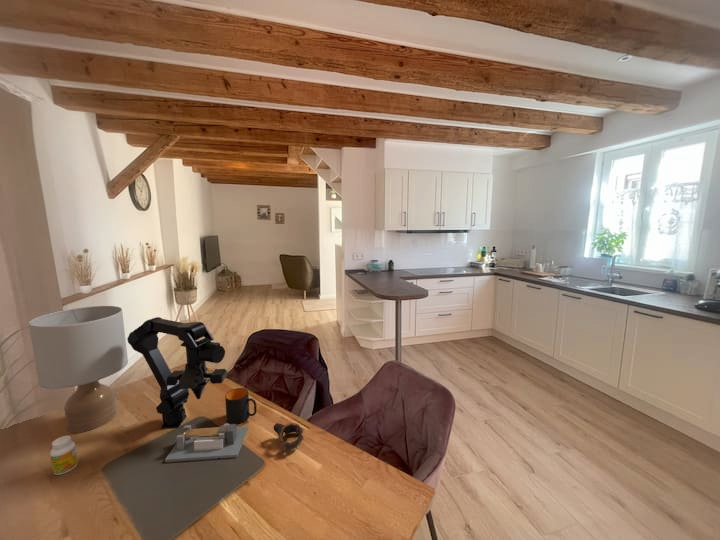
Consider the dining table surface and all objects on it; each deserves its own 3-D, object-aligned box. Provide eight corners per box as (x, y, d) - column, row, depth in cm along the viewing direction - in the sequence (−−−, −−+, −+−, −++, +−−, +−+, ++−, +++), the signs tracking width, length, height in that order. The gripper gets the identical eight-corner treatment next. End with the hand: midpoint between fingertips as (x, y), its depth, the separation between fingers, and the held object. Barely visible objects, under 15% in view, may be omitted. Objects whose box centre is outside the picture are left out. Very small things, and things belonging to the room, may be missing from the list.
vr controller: (309, 435, 105) (308, 425, 100) (295, 462, 98) (294, 453, 93) (280, 421, 107) (279, 411, 102) (265, 447, 100) (262, 437, 95)
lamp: (53, 454, 93) (33, 332, 87) (43, 423, 108) (25, 316, 101) (141, 416, 112) (130, 313, 106) (123, 394, 127) (112, 302, 120)
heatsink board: (165, 462, 91) (163, 445, 90) (185, 433, 104) (183, 418, 103) (237, 457, 94) (236, 440, 93) (247, 429, 106) (247, 414, 106)
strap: (180, 438, 96) (179, 434, 96) (184, 432, 99) (184, 428, 98) (225, 435, 97) (225, 431, 97) (228, 428, 100) (228, 425, 100)
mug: (251, 427, 108) (250, 402, 106) (222, 423, 109) (220, 398, 108) (262, 413, 116) (261, 389, 114) (234, 410, 117) (233, 386, 116)
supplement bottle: (49, 478, 85) (44, 449, 83) (57, 465, 90) (53, 437, 88) (73, 471, 87) (69, 443, 86) (80, 458, 92) (76, 431, 91)
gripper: (154, 370, 93) (158, 414, 95) (214, 368, 95) (217, 411, 97) (172, 355, 104) (176, 394, 106) (226, 353, 106) (228, 392, 108)
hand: (199, 398), depth 104 cm, fingers closed
